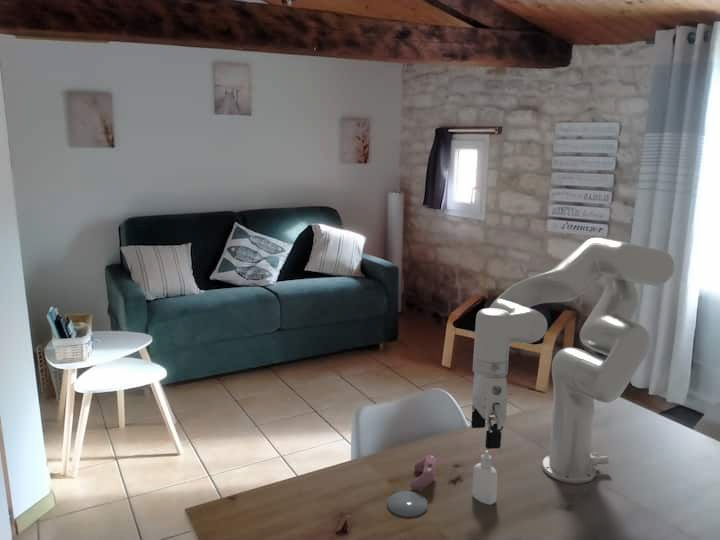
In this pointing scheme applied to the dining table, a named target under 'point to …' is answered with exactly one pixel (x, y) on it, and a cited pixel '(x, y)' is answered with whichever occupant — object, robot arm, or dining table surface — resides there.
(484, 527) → the dining table surface
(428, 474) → the video game controller
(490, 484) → the eye dropper bottle
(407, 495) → the glossy grey pebble
